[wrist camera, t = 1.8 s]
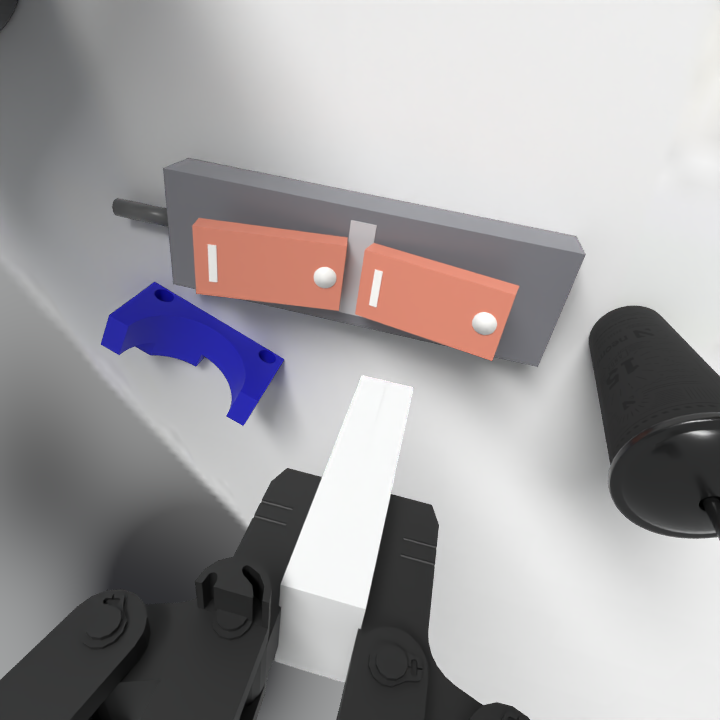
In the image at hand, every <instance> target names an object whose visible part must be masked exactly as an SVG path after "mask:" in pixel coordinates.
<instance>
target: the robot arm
mask: <svg viewBox="0 0 720 720" xmlns="http://www.w3.org/2000/svg"><path fill="white" fill-rule="evenodd" d="M17 1H18V0H0V31H1V30H2V28H3V27H4V26H5V25H6V23H7V22H8V21H9V19H10V17H11V15H12V13H13V11H14V9H15V7H16V4H17ZM413 389H414V387H410V386H406V385H402V384H398V383H394V382H389V381H385V380H381V379H377V378H373V377H368V376H364V375H362V376H361V378H360V381H359V384H358V386H357V389H356V391H355V394H354V396H353V399H352V402H351V404H350V407H349V409H348V412H347V414H346V417H345V420H344V422H343V425H342V427H341V430H340V433H339V435H338V438H337V440H336V443H335V445H334V448H333V451H332V453H331V456H330V458H329V461H328V463H327V466H326V469H325V471H324V474H323V476H322V477H319V476H315V475H312V474H308V473H304V472H300V471H297V470H293V469H289V468H287V469H286V470H284V471H283V472H282V473H281V474H280V475H278V476H277V477H276V478H275V479H274V480H272V481H271V483H270V485H269V487H268V489H267V491H266V493H265V495H264V497H263V499H262V502H261V503H260V505H259V507H258V509H257V511H256V513H255V516H254V518H253V519H252V521H251V523H250V525H249V527H248V529H247V531H246V533H245V535H244V537H243V539H242V541H241V543H240V545H239V547H238V549H237V550H236V552H235V555H234V556H233V557H231V558H226V559H222V560H218V561H217V562H215V563H214V564H212V565H211V566H209V567H207V568H206V569H205V570H204V571H203V572H202V573H201V575H200V576H199V577H198V578H197V580H196V581H195V585H196V595H197V598H196V599H193V600H191V601H185V602H179V603H164V604H144V602H143V601H142V600H141V599H140V598H139V597H138V596H137V595H136V594H135V593H132V592H129V591H126V590H122V589H121V590H107V591H104V592H102V593H99V594H96V595H94V596H91V597H90V598H89V599H87V600H86V601H84V602H83V603H82V604H80V605H79V606H77V607H76V608H75V609H74V610H73V611H72V612H71V613H70V614H69V615H68V616H67V617H66V618H65V619H64V620H63V621H62V622H61V623H60V624H59V625H58V626H56V627H55V628H54V629H53V630H52V631H51V632H50V633H49V634H48V635H47V636H46V637H45V638H44V639H43V640H42V641H41V642H40V643H39V644H38V645H37V646H35V648H33V649H32V650H31V651H30V652H29V653H28V654H27V655H26V656H25V657H24V658H23V659H22V660H21V661H20V662H19V663H18V664H17V665H15V667H13V668H12V669H11V670H10V671H9V672H8V673H7V674H6V675H5V676H4V677H3V678H2V679H1V680H0V720H256V719H257V716H258V713H259V710H260V707H261V704H262V701H263V698H264V695H265V689H266V682H267V677H268V674H269V671H270V668H271V665H272V663H273V660H274V657H275V661H276V662H279V663H282V664H285V665H288V666H291V667H295V668H298V669H301V670H304V671H308V672H311V673H314V674H317V675H321V676H324V677H327V678H330V679H334V680H337V681H340V682H343V683H345V685H344V690H343V694H342V699H341V703H340V708H339V711H338V716H337V720H530V719H529V718H528V717H527V716H526V715H524V714H523V713H521V712H520V711H518V710H517V709H516V708H514V707H513V706H509V705H505V704H501V703H492V704H487V705H482V704H480V703H479V702H478V701H476V700H475V699H473V698H472V697H471V696H469V695H468V694H466V693H465V692H463V691H462V690H461V689H459V688H458V687H456V686H455V685H454V684H453V683H452V682H451V681H449V680H448V679H447V678H446V677H445V676H444V674H443V673H442V672H441V671H440V669H439V668H438V667H437V665H436V663H435V661H434V659H433V657H432V655H431V651H430V647H429V643H428V627H429V617H430V608H431V598H432V588H433V578H434V568H435V567H434V565H435V558H436V547H437V538H438V528H439V524H438V521H437V518H436V516H435V513H434V510H433V507H432V505H430V504H426V503H423V502H419V501H415V500H411V499H407V498H404V497H400V496H396V495H392V494H391V491H392V486H393V481H394V477H395V472H396V468H397V463H398V458H399V454H400V449H401V445H402V440H403V435H404V431H405V426H406V422H407V417H408V412H409V408H410V403H411V399H412V394H413Z"/></svg>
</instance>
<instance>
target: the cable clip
mask: <svg viewBox="0 0 720 720" xmlns="http://www.w3.org/2000/svg"><path fill="white" fill-rule="evenodd" d="M101 345H103V346H104V347H106V348H108V349H110V350H111V351H113V352H115V353H117V354H118V355H120V354H121V353H123V352H124V351H126V350H127V349H129V348H132V347H134V346H135V347H137V348H139V349H140V350H142V351H144V352H146V353H147V354H149V355H160V356H168V357H173V358H177V359H180V360H183V361H185V362H188V363H190V364H192V365H194V366H197V365H198V364H199V363H200V362H201V360H202V359H203V358H204V356H205V357H206V358H207V359H209V360H210V361H211V362H213V363H214V364H215V365H216V366H217V367H218V368H219V369H220V370H221V372H222V373H223V374H224V376H225V377H226V379H227V381H228V383H229V386H230V389H231V394H232V402H231V407H230V410H229V412H228V414H227V417H229V418H230V419H232V420H234V421H236V422H237V423H239V424H241V425H243V426H244V424H245V422H246V421H247V419H248V418H249V416H250V414H251V413H252V411H253V410H254V408H255V406H256V405H257V403H258V401H259V400H260V398H261V397H262V395H263V393H264V392H265V390H266V389H267V387H268V385H269V384H270V382H271V380H272V379H273V377H274V375H275V374H276V372H277V371H278V369H279V367H280V366H281V364H282V362H283V361H284V359H283V358H281V357H280V356H278V355H276V354H275V353H273V352H271V351H270V350H268V349H266V348H265V347H263V346H261V345H260V344H258V343H256V342H255V341H253V340H251V339H250V338H248V337H246V336H245V335H243V334H241V333H240V332H238V331H236V330H235V329H233V328H231V327H229V326H228V325H226V324H224V323H223V322H221V321H219V320H218V319H216V318H214V317H213V316H211V315H209V314H208V313H206V312H204V311H203V310H201V309H199V308H198V307H196V306H194V305H193V304H191V303H189V302H188V301H186V300H184V299H183V298H181V297H179V296H178V295H176V294H174V293H173V292H171V291H169V290H168V289H166V288H164V287H163V286H161V285H159V284H158V283H156V282H154V283H152V284H151V285H150V286H148V287H147V288H146V289H144V290H143V291H141V292H140V293H139V294H137V295H136V296H135V297H133V298H132V299H131V300H129V301H128V302H126V303H125V304H124V305H122V306H121V307H120V308H118V309H117V310H116V311H114V312H113V313H111V314H110V315H109V318H108V321H107V325H106V328H105V331H104V335H103V338H102V342H101Z"/></svg>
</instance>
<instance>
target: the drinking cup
mask: <svg viewBox="0 0 720 720" xmlns="http://www.w3.org/2000/svg"><path fill="white" fill-rule="evenodd" d="M589 345H590V351H591V357H592V362H593V368H594V374H595V379H596V385H597V391H598V397H599V402H600V408H601V414H602V419H603V425H604V431H605V436H606V442H607V448H608V454H609V459H610V465H611V466H610V469H609V474H608V486H609V491H610V494H611V497H612V500H613V502H614V504H615V505H616V507H617V508H618V509H619V511H620V512H621V513H622V514H623V515H624V516H625V517H626V518H628V519H629V520H630V521H632V522H633V523H635V524H636V525H638V526H640V527H642V528H644V529H646V530H649V531H651V532H654V533H658V534H661V535H666V536H671V537H678V538H693V539H699V538H714V537H718V538H719V540H720V376H719V375H718V374H717V373H716V372H715V371H714V370H713V369H712V368H711V367H710V366H709V365H708V364H707V363H706V362H705V361H704V360H703V359H702V358H701V357H700V356H699V355H698V354H697V353H696V352H695V351H694V349H693V348H692V347H691V346H690V345H689V344H688V343H687V342H686V341H685V340H684V339H683V338H682V337H681V336H680V335H679V334H678V333H677V332H676V331H675V330H674V329H673V328H672V327H671V326H670V325H669V324H668V323H667V322H666V321H665V320H664V319H663V318H662V317H661V316H660V315H659V314H658V313H657V312H655V311H654V310H652V309H649V308H646V307H642V306H626V307H621V308H618V309H615V310H613V311H611V312H609V313H607V314H605V315H604V316H603V317H602V318H600V319H599V320H598V321H597V323H596V324H595V325H594V327H593V328H592V330H591V333H590V337H589Z"/></svg>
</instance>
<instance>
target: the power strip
mask: <svg viewBox="0 0 720 720" xmlns="http://www.w3.org/2000/svg"><path fill="white" fill-rule="evenodd" d="M163 171H164V182H165V194H166V205H167V209H166V208H162V207H157V206H152V205H147V204H143V203H138V202H133V201H129V200H124V199H119V198H117V199H115V200H114V202H113V206H112V208H113V212H114V214H115V215H117V216H121V217H126V218H130V219H135V220H140V221H144V222H149V223H154V224H158V225H163V226H167V227H168V228H169V240H170V251H171V262H172V274H173V284H176V285H180V286H184V287H189V288H193V289H196V281H195V264H194V247H193V230H192V226H193V224H194V223H195V222H196V221H197V219H198V218H204V219H212V220H219V221H227V222H234V223H242V224H250V225H257V226H265V227H272V228H280V229H287V230H295V231H303V232H310V233H318V234H325V235H333V236H340V237H348V239H347V251H346V259H345V267H344V274H343V282H342V290H341V297H340V305H339V311H336V310H328V309H320V308H311V307H303V306H295V305H286V304H278V303H269V302H261V301H253V300H246V301H250V302H255V303H259V304H264V305H268V306H272V307H277V308H281V309H286V310H290V311H294V312H299V313H303V314H308V315H312V316H316V317H321V318H325V319H330V320H334V321H338V322H343V323H347V324H352V325H356V326H360V327H365V328H369V329H374V330H378V331H383V332H387V333H391V334H396V335H400V336H405V337H409V338H413V339H418V340H422V341H427V342H431V343H435V344H440V345H444V344H441V343H438V342H435V341H432V340H429V339H426V338H423V337H420V336H417V335H414V334H411V333H408V332H405V331H403V330H400V329H397V328H394V327H391V326H388V325H385V324H382V323H379V322H376V321H373V320H370V319H367V318H364V317H361V316H359V315H356V314H355V311H356V304H357V298H358V291H359V284H360V278H361V271H362V265H363V258H364V251H365V249H366V248H368V247H369V246H370V245H371V244H373V243H376V244H380V245H383V246H386V247H390V248H393V249H396V250H400V251H403V252H407V253H410V254H413V255H417V256H420V257H424V258H427V259H430V260H434V261H437V262H440V263H444V264H447V265H451V266H454V267H457V268H461V269H464V270H468V271H471V272H474V273H478V274H481V275H484V276H488V277H491V278H495V279H498V280H501V281H505V282H508V283H511V284H515V285H518V286H519V289H518V291H517V294H516V297H515V300H514V303H513V305H512V308H511V311H510V314H509V316H508V319H507V322H506V325H505V328H504V330H503V333H502V336H501V339H500V342H499V344H498V347H497V350H496V353H495V355H494V357H497V358H501V359H506V360H510V361H515V362H519V363H523V364H528V365H532V366H537V367H538V365H539V363H540V360H541V358H542V356H543V353H544V351H545V349H546V346H547V344H548V341H549V339H550V337H551V334H552V332H553V330H554V327H555V325H556V323H557V320H558V318H559V316H560V313H561V311H562V309H563V306H564V304H565V302H566V299H567V297H568V295H569V292H570V290H571V288H572V285H573V283H574V280H575V278H576V276H577V273H578V271H579V269H580V266H581V264H582V262H583V259H584V257H585V255H586V254H585V252H584V250H583V248H582V246H581V244H580V242H579V240H578V238H577V236H572V235H567V234H562V233H557V232H553V231H548V230H543V229H538V228H533V227H528V226H523V225H518V224H513V223H508V222H503V221H498V220H493V219H488V218H483V217H478V216H473V215H468V214H463V213H458V212H453V211H448V210H443V209H438V208H433V207H428V206H423V205H419V204H414V203H409V202H404V201H399V200H394V199H389V198H384V197H379V196H374V195H369V194H364V193H359V192H354V191H349V190H344V189H339V188H334V187H329V186H324V185H319V184H314V183H309V182H304V181H299V180H294V179H289V178H285V177H280V176H275V175H270V174H265V173H260V172H255V171H250V170H245V169H240V168H235V167H230V166H225V165H220V164H215V163H210V162H205V161H200V160H195V159H190V158H188V159H185V160H183V161H180V162H177V163H175V164H172V165H170V166H167V167H165V168H163ZM242 300H244V299H242ZM444 346H447V345H444Z"/></svg>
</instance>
